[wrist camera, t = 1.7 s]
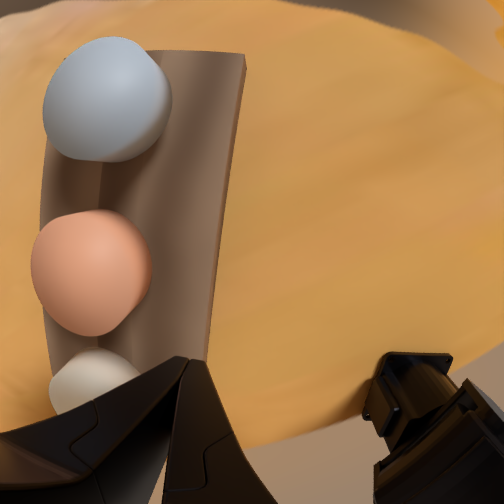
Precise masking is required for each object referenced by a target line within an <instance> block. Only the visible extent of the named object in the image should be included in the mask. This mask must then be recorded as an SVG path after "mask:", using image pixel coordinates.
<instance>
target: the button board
mask: <svg viewBox="0 0 504 504" xmlns="http://www.w3.org/2000/svg"><path fill="white" fill-rule="evenodd" d="M145 52H146V53H147V54H148V55H149V56H150V57H151V58H152V59H153V60H154V61H155V63H156V64H157V65H158V66H159V67H160V68H161V69H162V70H163V71H164V73H165V74H166V76H167V77H168V79H169V82H170V85H171V88H172V97H173V102H172V110H171V114H170V117H169V120H168V123H167V125H166V127H165V129H164V131H163V132H162V134H161V135H160V137H159V138H158V139H157V140H156V142H155V143H154V144H153V145H152V146H151V147H150V148H149V149H147V150H146V151H145V152H143V153H142V154H140V155H138V156H137V157H135V158H132V159H130V160H127V161H123V162H111V163H110V162H100V161H89V160H78V159H73V158H70V157H67V156H65V155H63V154H62V153H60V152H59V151H58V150H57V149H56V148H55V147H54V146H53V145H52V143H51V142H50V141H49V138H48V136H47V143H46V150H45V158H44V167H43V177H42V189H41V205H40V231H41V230H42V229H43V228H44V227H45V226H46V225H47V224H48V223H49V222H51V221H52V220H54V219H56V218H58V217H61V216H65V215H70V214H75V213H79V212H84V211H89V210H95V209H107V210H112V211H114V212H117V213H119V214H121V215H123V216H125V217H126V218H127V219H129V220H130V221H131V222H132V223H133V224H134V225H135V226H136V227H137V228H138V229H139V231H140V232H141V234H142V235H143V237H144V239H145V241H146V243H147V245H148V248H149V251H150V255H151V261H152V277H151V282H150V286H149V289H148V291H147V293H146V295H145V296H144V298H143V299H142V300H141V302H140V303H139V304H138V305H137V306H136V307H135V308H134V309H133V310H132V311H131V312H130V313H129V314H128V315H127V316H126V317H125V318H124V319H123V320H122V321H121V322H120V324H119V325H117V326H116V327H115V328H114V329H113V330H111V331H110V332H108V333H106V334H103V335H99V336H83V335H78V334H76V333H73V332H71V331H69V330H67V329H65V328H64V327H62V326H61V325H59V324H58V323H57V322H56V321H55V320H54V319H53V318H52V317H51V316H50V315H49V314H48V312H47V311H46V310H45V308H44V307H43V314H44V323H45V331H46V339H47V345H48V352H49V358H50V363H51V369H52V374H53V377H54V376H55V375H56V374H57V373H58V372H59V371H60V370H61V369H62V368H63V367H64V366H65V365H66V364H67V363H68V362H69V361H70V360H71V359H72V358H73V357H74V356H75V355H76V354H77V353H78V352H79V351H81V350H83V349H85V348H93V347H95V348H102V349H106V350H109V351H112V352H114V353H116V354H118V355H119V356H121V357H123V358H124V359H126V360H127V361H128V362H129V363H131V364H133V366H134V367H135V368H136V369H137V370H138V372H139V373H140V374H142V373H144V372H146V371H148V370H150V369H152V368H153V367H155V366H157V365H159V364H161V363H163V362H164V361H166V360H168V359H170V358H172V357H173V356H182V357H187V358H189V359H190V360H191V359H198V360H203V361H205V362H207V353H208V343H209V334H210V324H211V315H212V307H213V298H214V289H215V281H216V273H217V265H218V257H219V249H220V241H221V234H222V226H223V219H224V211H225V204H226V197H227V190H228V183H229V176H230V169H231V163H232V156H233V149H234V143H235V136H236V130H237V124H238V118H239V111H240V105H241V99H242V93H243V87H244V82H245V76H246V70H247V67H246V61H245V54H238V53H226V52H211V51H186V50H153V51H145ZM65 59H66V58H64V60H65Z"/></svg>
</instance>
